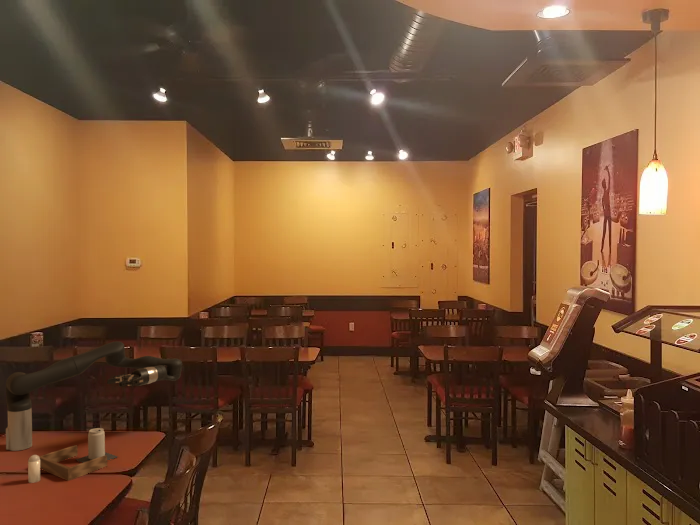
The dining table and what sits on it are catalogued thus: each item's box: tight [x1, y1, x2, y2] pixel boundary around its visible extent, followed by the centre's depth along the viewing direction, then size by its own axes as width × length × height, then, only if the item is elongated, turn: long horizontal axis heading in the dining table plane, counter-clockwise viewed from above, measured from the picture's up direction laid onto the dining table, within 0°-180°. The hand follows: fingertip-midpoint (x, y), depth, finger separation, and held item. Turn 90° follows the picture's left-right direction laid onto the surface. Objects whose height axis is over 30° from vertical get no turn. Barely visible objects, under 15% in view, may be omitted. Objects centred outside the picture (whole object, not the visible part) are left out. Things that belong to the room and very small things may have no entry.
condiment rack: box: [38, 444, 108, 481], centre depth 225 cm, size 16×22×4 cm
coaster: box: [74, 451, 119, 463], centre depth 234 cm, size 12×12×1 cm
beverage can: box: [87, 427, 106, 460], centre depth 233 cm, size 6×6×12 cm
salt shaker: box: [27, 454, 41, 484], centre depth 212 cm, size 4×4×10 cm
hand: (113, 383), depth 242 cm, fingers open, 8 cm apart
